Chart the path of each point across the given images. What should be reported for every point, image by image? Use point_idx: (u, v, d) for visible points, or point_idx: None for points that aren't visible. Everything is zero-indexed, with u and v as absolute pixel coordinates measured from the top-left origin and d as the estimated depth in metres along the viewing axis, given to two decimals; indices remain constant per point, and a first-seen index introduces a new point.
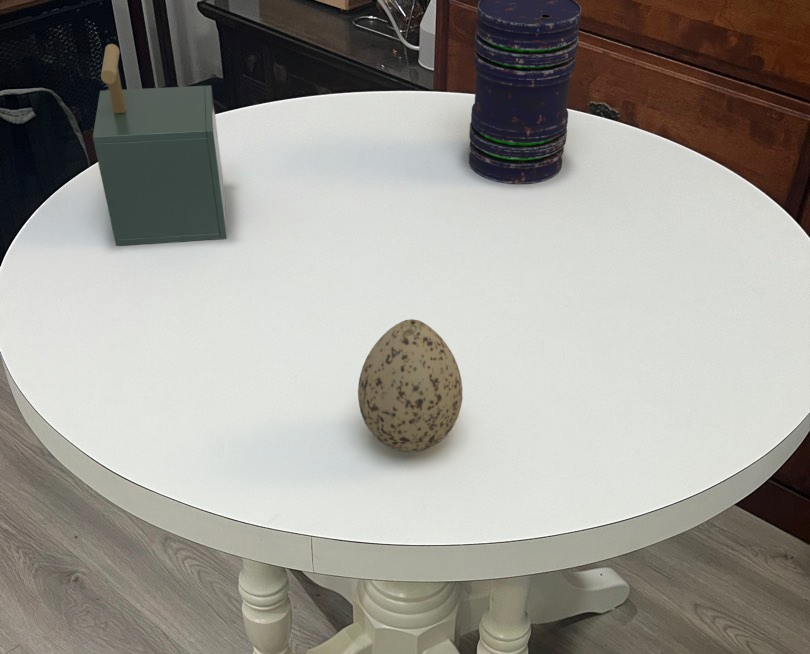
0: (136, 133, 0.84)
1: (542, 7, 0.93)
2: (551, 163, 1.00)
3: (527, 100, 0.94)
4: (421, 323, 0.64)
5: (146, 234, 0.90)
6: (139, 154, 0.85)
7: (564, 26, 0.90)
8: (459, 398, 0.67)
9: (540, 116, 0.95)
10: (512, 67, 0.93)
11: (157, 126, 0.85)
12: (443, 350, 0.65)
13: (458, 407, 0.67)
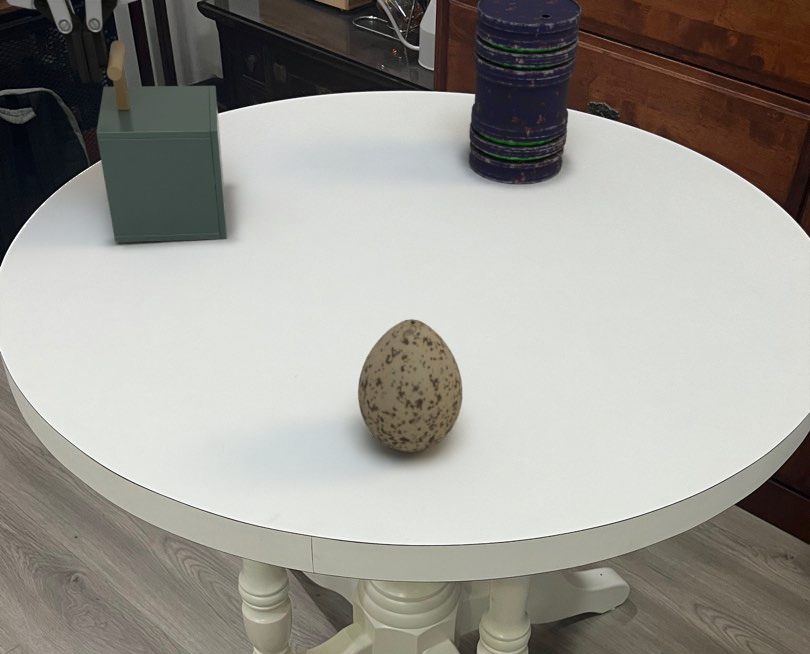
0: (140, 130, 0.84)
1: (542, 7, 0.93)
2: (551, 163, 1.00)
3: (527, 100, 0.94)
4: (421, 323, 0.64)
5: (146, 232, 0.90)
6: (142, 152, 0.85)
7: (564, 26, 0.90)
8: (459, 398, 0.67)
9: (540, 116, 0.95)
10: (512, 67, 0.93)
11: (161, 124, 0.85)
12: (443, 350, 0.65)
13: (458, 407, 0.67)
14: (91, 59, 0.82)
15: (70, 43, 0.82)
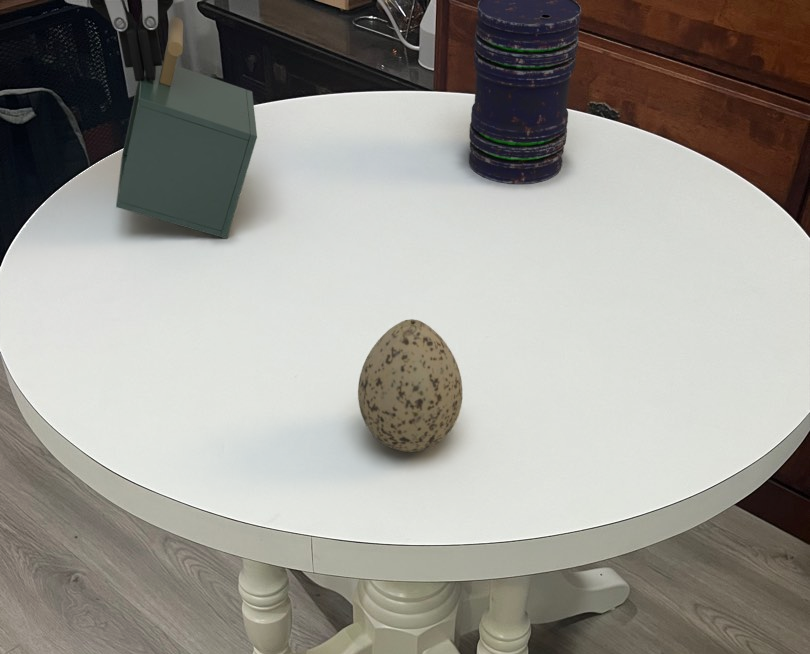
0: (183, 111, 0.83)
1: (542, 7, 0.93)
2: (551, 163, 1.00)
3: (527, 100, 0.94)
4: (421, 323, 0.64)
5: (151, 207, 0.88)
6: (177, 131, 0.84)
7: (564, 26, 0.90)
8: (459, 398, 0.67)
9: (540, 116, 0.95)
10: (512, 67, 0.93)
11: (203, 112, 0.84)
12: (443, 350, 0.65)
13: (458, 407, 0.67)
14: (146, 57, 0.83)
15: (124, 41, 0.82)
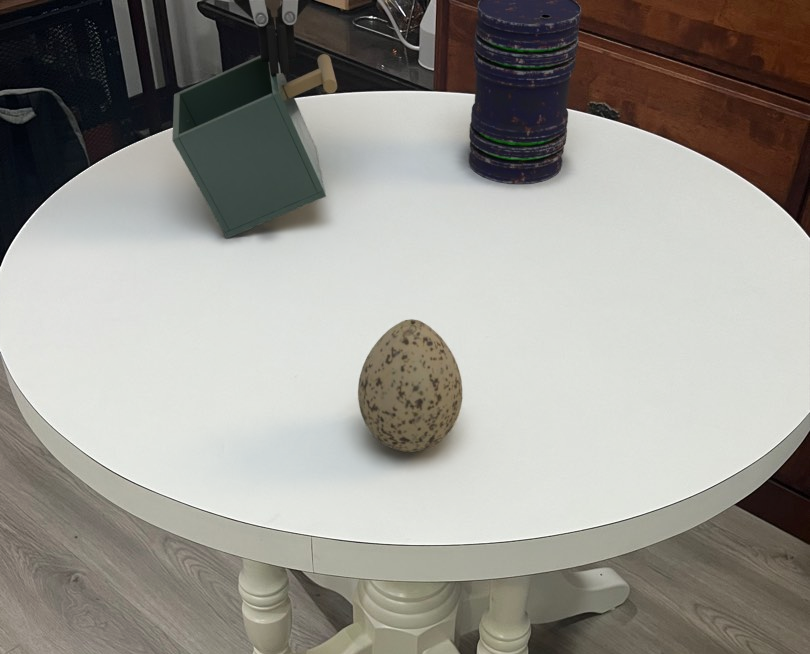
0: (296, 130, 0.86)
1: (542, 7, 0.93)
2: (551, 163, 1.00)
3: (527, 100, 0.94)
4: (421, 323, 0.64)
5: (198, 166, 0.86)
6: (278, 139, 0.86)
7: (564, 26, 0.90)
8: (459, 398, 0.67)
9: (540, 116, 0.95)
10: (512, 67, 0.93)
11: (304, 143, 0.88)
12: (443, 350, 0.65)
13: (458, 407, 0.67)
14: (283, 52, 0.84)
15: (263, 36, 0.84)
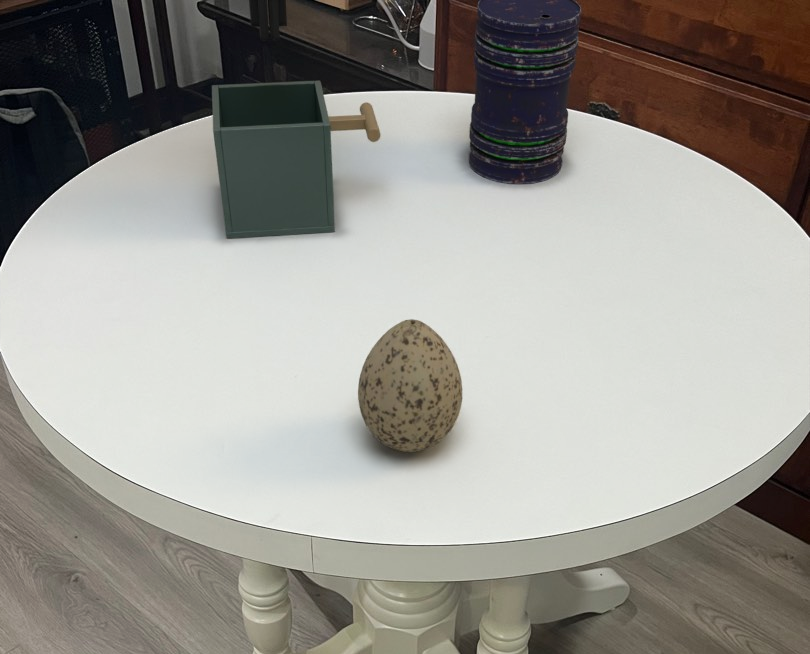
0: None
1: (542, 7, 0.93)
2: (551, 163, 1.00)
3: (527, 100, 0.94)
4: (421, 323, 0.64)
5: (227, 162, 0.86)
6: (312, 165, 0.88)
7: (564, 26, 0.90)
8: (459, 398, 0.67)
9: (540, 116, 0.95)
10: (512, 67, 0.93)
11: None
12: (443, 350, 0.65)
13: (458, 407, 0.67)
14: (273, 16, 0.82)
15: None
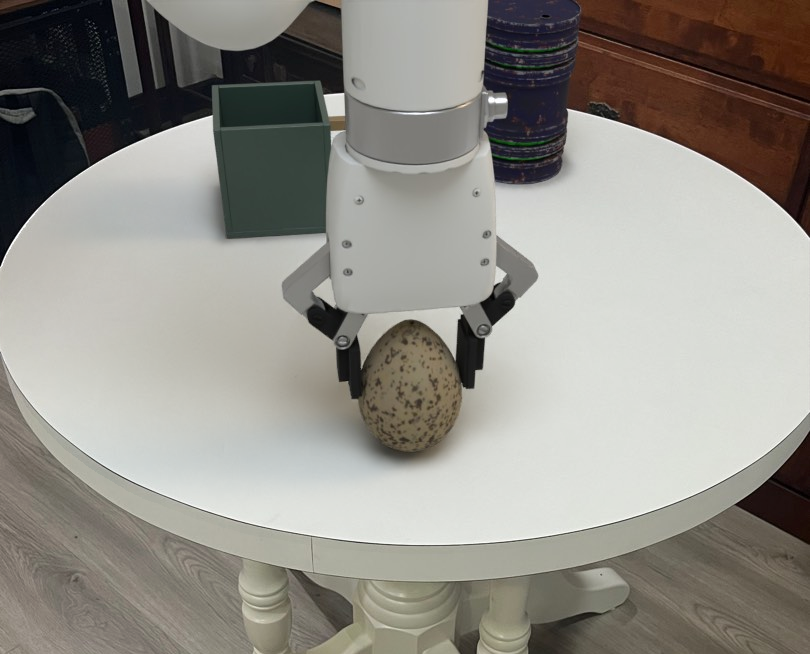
0: None
1: (542, 7, 0.93)
2: (551, 163, 1.00)
3: (527, 100, 0.94)
4: (420, 323, 0.64)
5: (227, 162, 0.86)
6: (312, 165, 0.88)
7: (564, 26, 0.90)
8: (459, 398, 0.67)
9: (540, 116, 0.95)
10: (512, 67, 0.93)
11: None
12: (442, 350, 0.65)
13: (458, 407, 0.67)
14: (470, 366, 0.65)
15: (343, 356, 0.64)
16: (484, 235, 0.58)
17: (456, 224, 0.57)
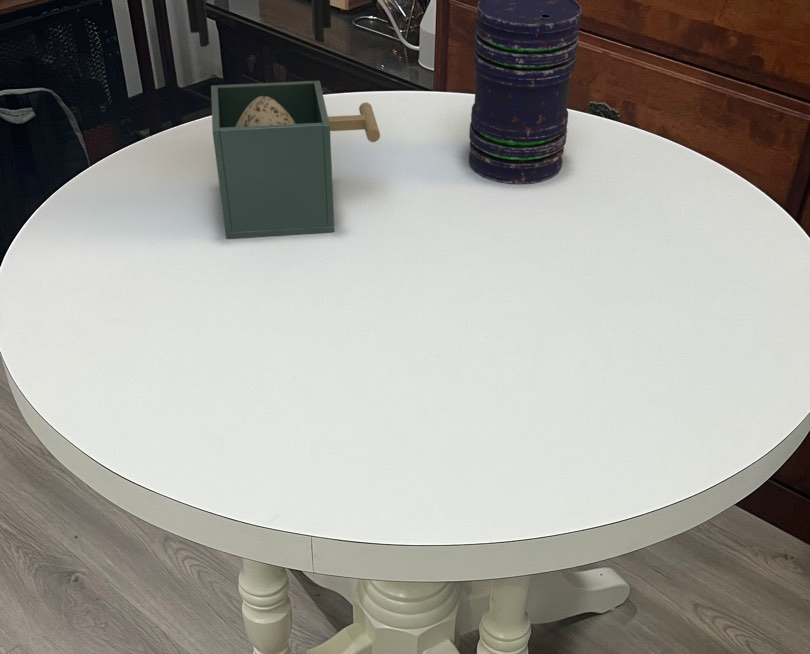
0: None
1: (542, 7, 0.93)
2: (551, 163, 1.00)
3: (527, 100, 0.94)
4: (270, 98, 0.88)
5: (227, 163, 0.86)
6: (312, 165, 0.88)
7: (564, 26, 0.90)
8: None
9: (540, 116, 0.95)
10: (512, 67, 0.93)
11: None
12: (287, 119, 0.89)
13: None
14: (318, 18, 0.82)
15: (191, 5, 0.81)
16: None
17: None
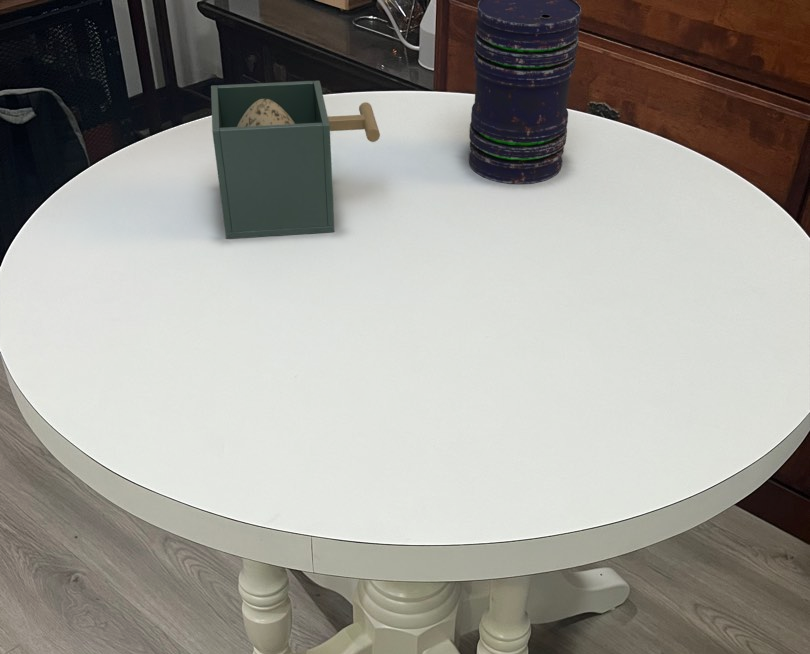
0: (330, 163, 0.88)
1: (542, 7, 0.93)
2: (551, 163, 1.00)
3: (527, 100, 0.94)
4: (271, 100, 0.88)
5: (227, 163, 0.86)
6: (312, 165, 0.88)
7: (564, 26, 0.90)
8: None
9: (540, 116, 0.95)
10: (512, 67, 0.93)
11: None
12: (288, 121, 0.88)
13: None
14: None
15: None
16: None
17: None
